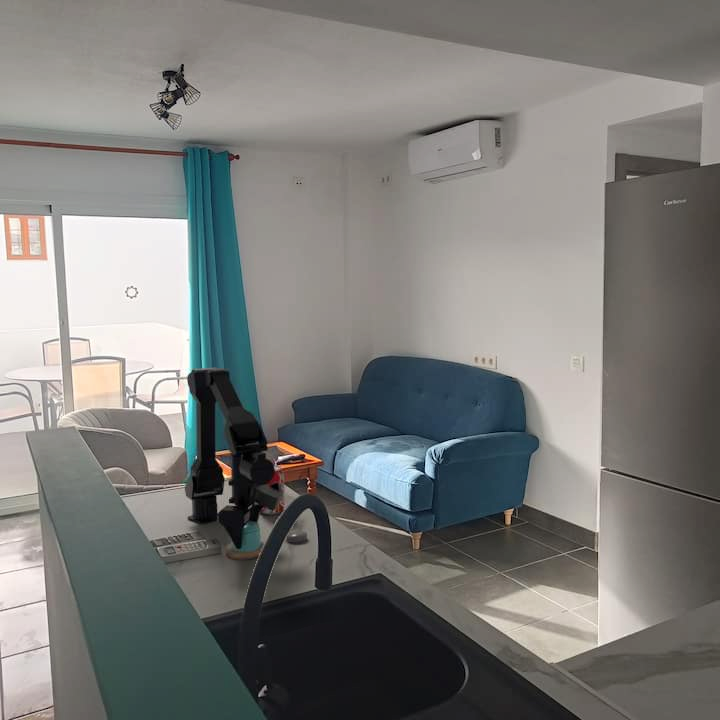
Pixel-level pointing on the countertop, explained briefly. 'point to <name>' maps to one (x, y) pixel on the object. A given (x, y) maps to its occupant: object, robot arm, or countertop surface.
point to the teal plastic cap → (250, 538)
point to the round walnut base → (242, 553)
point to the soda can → (280, 479)
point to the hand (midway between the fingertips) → (245, 541)
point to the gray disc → (296, 537)
